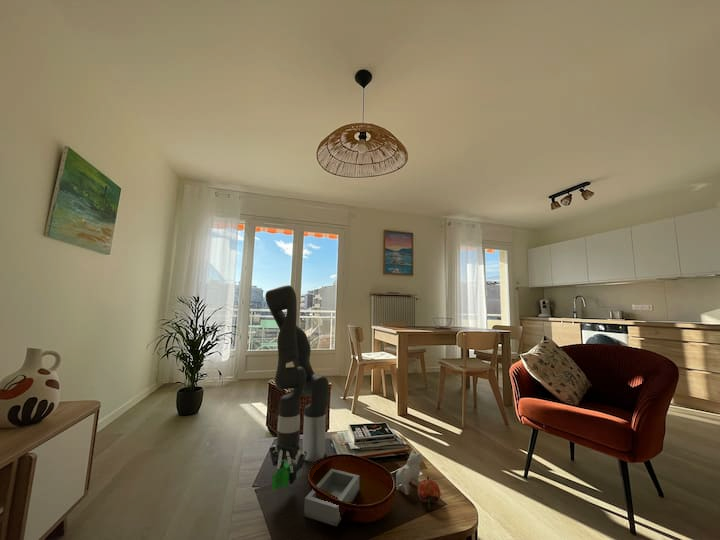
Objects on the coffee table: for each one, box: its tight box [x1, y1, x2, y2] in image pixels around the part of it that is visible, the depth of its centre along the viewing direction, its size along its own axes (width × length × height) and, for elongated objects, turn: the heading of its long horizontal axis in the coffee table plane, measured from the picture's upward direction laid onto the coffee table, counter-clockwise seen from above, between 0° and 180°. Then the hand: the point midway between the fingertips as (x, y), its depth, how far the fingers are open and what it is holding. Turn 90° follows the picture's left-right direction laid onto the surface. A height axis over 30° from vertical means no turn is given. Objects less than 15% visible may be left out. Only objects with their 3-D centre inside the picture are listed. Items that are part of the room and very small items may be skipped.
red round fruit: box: [417, 475, 442, 508], centre depth 98 cm, size 7×7×10 cm
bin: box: [303, 468, 360, 527], centre depth 97 cm, size 18×11×5 cm, turn 158°
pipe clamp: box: [271, 459, 293, 492], centre depth 100 cm, size 11×4×5 cm, turn 159°
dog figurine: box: [396, 449, 423, 496], centre depth 108 cm, size 5×13×11 cm, turn 137°
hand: (286, 480), depth 100 cm, fingers closed on pipe clamp, 3 cm apart
